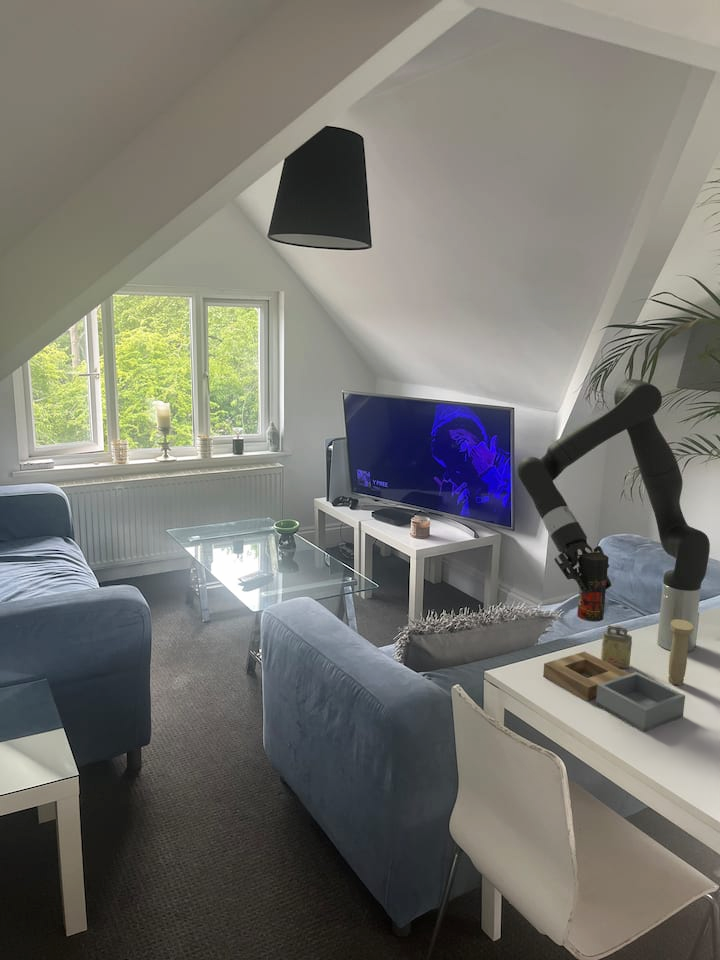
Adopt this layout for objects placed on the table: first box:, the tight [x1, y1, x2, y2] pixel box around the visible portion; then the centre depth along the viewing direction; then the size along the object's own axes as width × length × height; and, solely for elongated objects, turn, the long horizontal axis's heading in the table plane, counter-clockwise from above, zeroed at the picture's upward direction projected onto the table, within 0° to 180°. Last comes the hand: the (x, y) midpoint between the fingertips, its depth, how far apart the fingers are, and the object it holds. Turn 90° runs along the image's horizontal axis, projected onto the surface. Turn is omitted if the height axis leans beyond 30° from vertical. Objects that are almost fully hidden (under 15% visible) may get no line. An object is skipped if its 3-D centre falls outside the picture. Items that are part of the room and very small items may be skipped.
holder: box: [542, 651, 630, 702], centre depth 173 cm, size 14×14×4 cm
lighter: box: [600, 625, 633, 669], centre depth 182 cm, size 7×4×10 cm, turn 67°
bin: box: [595, 671, 686, 733], centre depth 160 cm, size 13×13×5 cm
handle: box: [668, 619, 693, 686], centre depth 172 cm, size 5×6×15 cm
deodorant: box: [576, 553, 609, 623], centre depth 169 cm, size 6×6×15 cm
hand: (598, 589), depth 167 cm, fingers closed on deodorant, 6 cm apart
